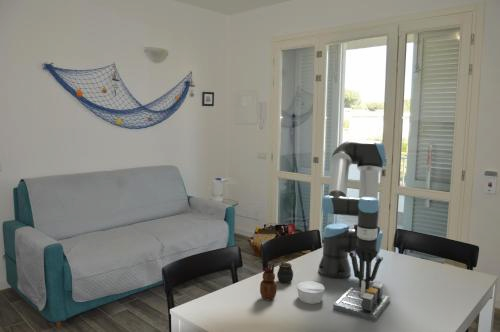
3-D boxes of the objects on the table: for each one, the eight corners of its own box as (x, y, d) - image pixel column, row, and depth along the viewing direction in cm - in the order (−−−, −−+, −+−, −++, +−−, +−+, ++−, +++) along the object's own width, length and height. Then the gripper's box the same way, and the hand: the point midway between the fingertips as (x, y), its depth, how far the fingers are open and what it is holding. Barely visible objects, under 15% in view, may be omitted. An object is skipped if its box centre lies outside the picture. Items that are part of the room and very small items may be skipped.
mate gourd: (285, 286, 171) (285, 264, 170) (273, 281, 177) (273, 259, 176) (296, 282, 176) (296, 260, 175) (284, 277, 182) (284, 256, 181)
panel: (333, 309, 151) (333, 303, 151) (351, 291, 167) (351, 286, 167) (374, 321, 142) (375, 315, 142) (389, 301, 159) (389, 296, 158)
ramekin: (307, 307, 152) (307, 294, 152) (291, 296, 162) (291, 283, 161) (330, 302, 157) (330, 289, 157) (313, 291, 167) (313, 279, 167)
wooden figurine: (278, 296, 161) (279, 261, 159) (274, 302, 155) (275, 266, 154) (262, 294, 163) (263, 259, 161) (258, 300, 158) (258, 264, 156)
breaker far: (371, 297, 157) (372, 285, 156) (374, 294, 160) (375, 282, 159) (379, 299, 155) (380, 287, 154) (382, 295, 158) (382, 284, 157)
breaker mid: (366, 302, 152) (367, 290, 151) (369, 299, 155) (370, 287, 154) (374, 304, 150) (374, 292, 150) (377, 301, 153) (377, 289, 153)
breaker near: (362, 308, 147) (362, 295, 146) (365, 305, 150) (365, 292, 149) (370, 310, 145) (370, 298, 144) (373, 307, 148) (373, 294, 147)
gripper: (347, 236, 152) (344, 294, 154) (381, 243, 145) (377, 304, 147) (353, 232, 158) (351, 288, 161) (386, 238, 151) (383, 297, 153)
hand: (363, 295), depth 154 cm, fingers closed
